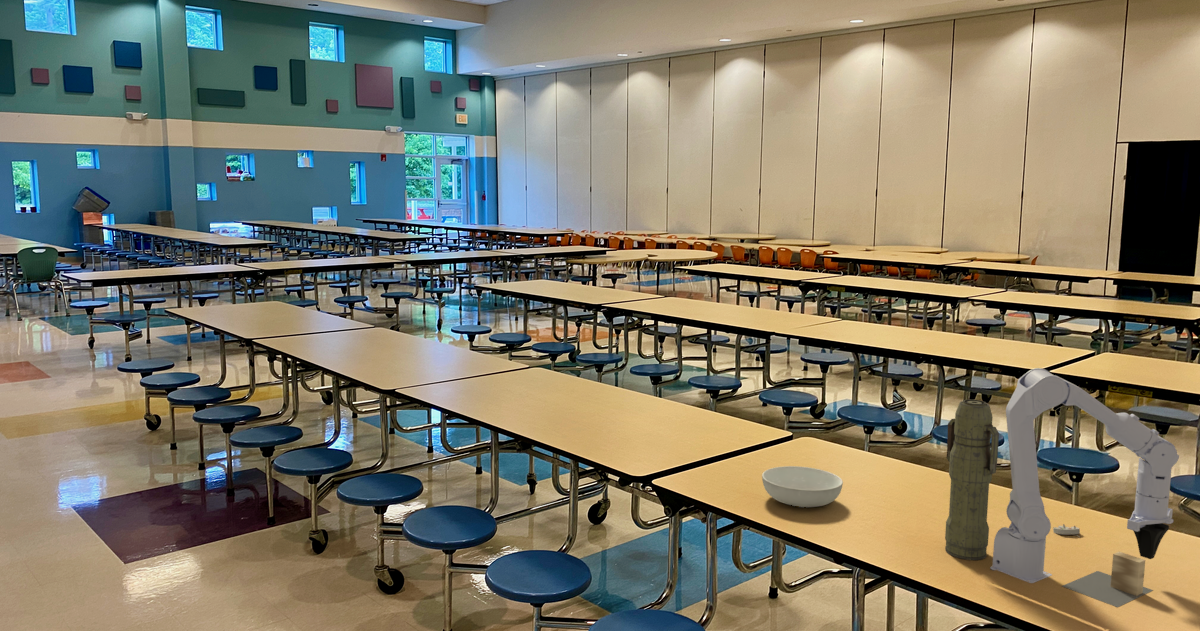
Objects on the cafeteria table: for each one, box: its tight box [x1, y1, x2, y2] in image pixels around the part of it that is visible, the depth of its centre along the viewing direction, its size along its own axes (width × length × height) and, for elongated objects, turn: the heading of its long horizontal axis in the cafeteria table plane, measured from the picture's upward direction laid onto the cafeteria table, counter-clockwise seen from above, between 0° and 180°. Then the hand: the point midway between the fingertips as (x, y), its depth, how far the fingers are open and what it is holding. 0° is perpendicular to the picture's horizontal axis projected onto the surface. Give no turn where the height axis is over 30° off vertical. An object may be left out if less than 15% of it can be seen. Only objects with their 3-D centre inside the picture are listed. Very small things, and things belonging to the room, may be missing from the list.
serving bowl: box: [761, 465, 844, 508], centre depth 225 cm, size 21×21×7 cm
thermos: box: [944, 399, 1000, 561], centre depth 190 cm, size 9×12×35 cm
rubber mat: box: [1061, 570, 1154, 608], centre depth 173 cm, size 11×14×1 cm
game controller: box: [1052, 523, 1081, 537], centre depth 201 cm, size 6×12×3 cm, turn 23°
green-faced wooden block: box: [1110, 551, 1146, 596], centre depth 171 cm, size 5×3×7 cm, turn 32°
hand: (1146, 557), depth 175 cm, fingers closed
